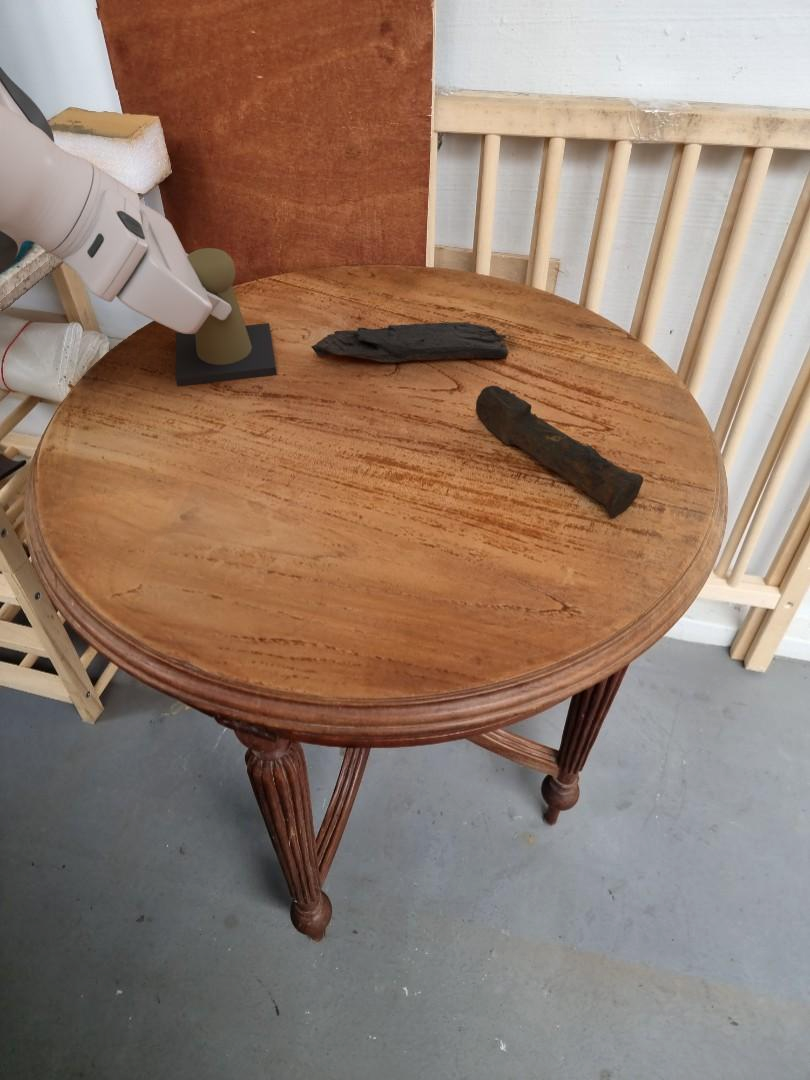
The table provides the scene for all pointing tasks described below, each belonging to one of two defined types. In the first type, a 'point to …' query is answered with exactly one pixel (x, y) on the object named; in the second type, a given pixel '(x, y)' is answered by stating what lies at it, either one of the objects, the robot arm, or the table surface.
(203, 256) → the olive pawn
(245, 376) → the mat
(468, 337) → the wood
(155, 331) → the table surface
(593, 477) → the hand tool
